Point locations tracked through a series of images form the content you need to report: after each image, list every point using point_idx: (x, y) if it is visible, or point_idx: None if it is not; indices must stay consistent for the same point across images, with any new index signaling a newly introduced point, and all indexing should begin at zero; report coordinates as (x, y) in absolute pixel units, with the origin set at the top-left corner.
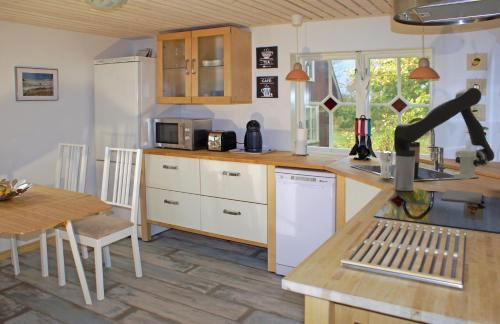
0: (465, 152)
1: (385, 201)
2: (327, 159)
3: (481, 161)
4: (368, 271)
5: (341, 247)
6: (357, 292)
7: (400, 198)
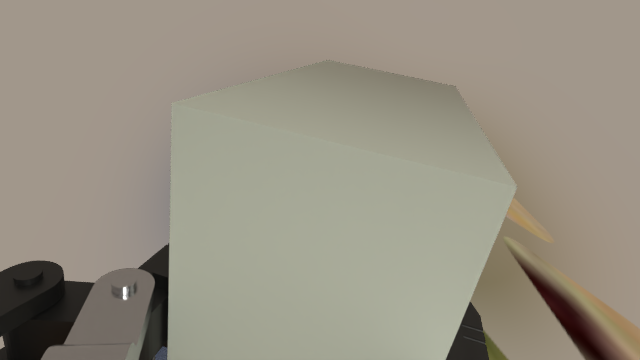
0: (367, 69)
1: (565, 282)
2: None
3: (63, 291)
4: None
5: None
6: None
7: (568, 335)
